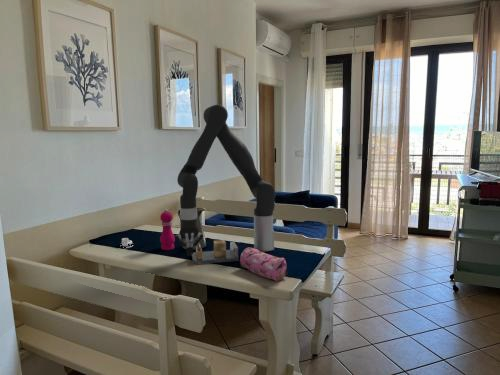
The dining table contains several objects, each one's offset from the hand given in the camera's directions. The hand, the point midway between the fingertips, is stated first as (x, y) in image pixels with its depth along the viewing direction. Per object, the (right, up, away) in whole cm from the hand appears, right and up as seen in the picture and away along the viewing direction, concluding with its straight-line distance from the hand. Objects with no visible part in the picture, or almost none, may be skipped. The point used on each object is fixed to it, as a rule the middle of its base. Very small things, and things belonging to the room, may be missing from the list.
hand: (190, 254), depth 165 cm
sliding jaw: (+4, 0, +1) cm, 4 cm away
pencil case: (+32, -5, -16) cm, 36 cm away
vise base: (+11, -2, +3) cm, 11 cm away
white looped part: (-34, 0, +24) cm, 41 cm away
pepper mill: (-14, 0, +18) cm, 22 cm away
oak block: (+13, 0, +3) cm, 14 cm away
